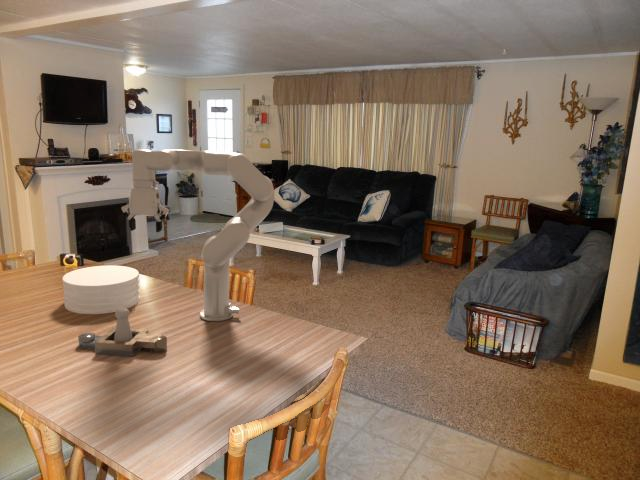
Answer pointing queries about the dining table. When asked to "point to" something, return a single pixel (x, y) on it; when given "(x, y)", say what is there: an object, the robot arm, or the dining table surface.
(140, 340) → the upper end link
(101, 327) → the dining table surface
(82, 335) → the lower end link
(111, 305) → the plate stack
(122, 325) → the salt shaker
